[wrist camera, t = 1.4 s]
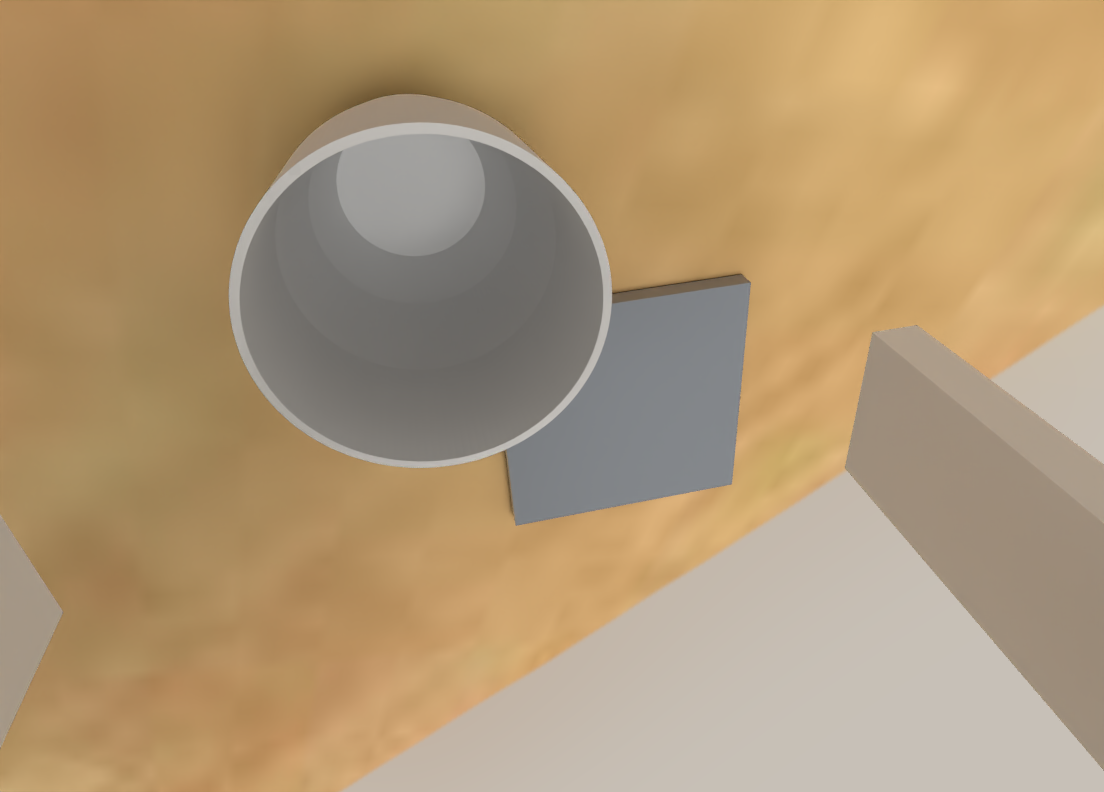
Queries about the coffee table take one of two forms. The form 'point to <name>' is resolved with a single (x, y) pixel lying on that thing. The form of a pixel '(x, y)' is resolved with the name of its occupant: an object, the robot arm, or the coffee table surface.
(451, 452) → the cup
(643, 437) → the coaster
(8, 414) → the coffee table surface
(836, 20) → the coffee table surface
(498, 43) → the coffee table surface
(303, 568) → the coffee table surface
